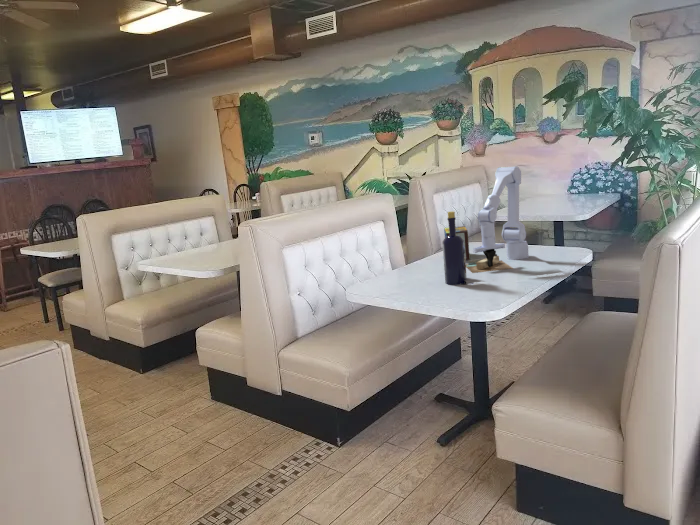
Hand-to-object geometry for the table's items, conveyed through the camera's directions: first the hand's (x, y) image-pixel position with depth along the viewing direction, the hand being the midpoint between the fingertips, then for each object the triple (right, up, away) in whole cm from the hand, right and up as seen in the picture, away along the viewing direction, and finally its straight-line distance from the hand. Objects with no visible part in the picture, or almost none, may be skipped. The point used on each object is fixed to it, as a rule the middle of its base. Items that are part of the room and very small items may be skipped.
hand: (490, 266), depth 249 cm
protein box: (-9, +3, +30) cm, 31 cm away
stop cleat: (-3, +1, +11) cm, 12 cm away
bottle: (-18, -7, -12) cm, 23 cm away
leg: (0, 0, +5) cm, 5 cm away
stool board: (0, -1, +4) cm, 4 cm away
